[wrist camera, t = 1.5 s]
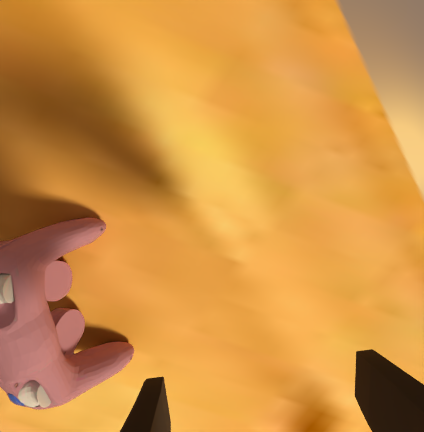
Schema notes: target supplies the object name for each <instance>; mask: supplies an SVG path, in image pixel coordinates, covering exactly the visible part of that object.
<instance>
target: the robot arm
mask: <svg viewBox="0 0 424 432" xmlns="http://www.w3.org/2000/svg"><path fill="white" fill-rule="evenodd" d="M355 397H356V400H357V402H358V404H359V406H360V408H361V411H362V413H363V415H364V417H365V419H366V421H367V423H368V425H369V427H370V428H371V430H372V432H424V385H423V384H422V383H420V382H419V381H417V380H416V379H414V378H413V377H412V376H410V375H409V374H407V373H406V372H404V371H403V370H401V369H400V368H399V367H397V366H396V365H394V364H393V363H391V362H390V361H389V360H387V359H386V358H384V357H383V356H381V355H380V354H378V353H377V352H375V351H374V350H364V351H356V377H355ZM120 432H171V421H170V415H169V408H168V402H167V396H166V389H165V383H164V377H157V378H149V379H146V380H145V381H144V383H143V386H142V388H141V391H140V393H139V395H138V397H137V399H136V402H135V404H134V406H133V408H132V410H131V412H130V414H129V416H128V417H127V419H126V421H125V423H124V425H123V427H122V429H121V430H120Z"/></svg>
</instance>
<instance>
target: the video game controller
mask: <svg viewBox="0 0 424 432" xmlns="http://www.w3.org/2000/svg"><path fill="white" fill-rule="evenodd" d="M105 229H106V224H105V222H103V221H102V220H100V219H96V218H80V219H73V220H68V221H64V222H60V223H57V224H53V225H50V226H47V227H44V228H41V229H38V230H35V231H33V232H30V233H28V234H25V235H23V236H20V237H18V238H15V239H12V240H10V241H0V387H1V388H2V389H3V390H4V391H5V392H6V393H7V395H8V397H9V399H10V400H11V401H12V402H13V403H14V404H16V405H20V406H24V407H30V408H33V409H47V408H52V407H57V406H61V405H63V404H65V403H67V402H69V401H71V400H72V399H74V398H76V397H77V396H79V395H81V394H82V393H84V392H86V391H87V390H89V389H91V388H92V387H94V386H96V385H98V384H99V383H101V382H103V381H105V380H106V379H108V378H110V377H112V376H113V375H115V374H116V373H118V372H119V371H121V370H122V369H123V368H124V367H125V366H126V365H127V364H128V363H129V362H130V360H131V359H132V357H133V353H134V348H133V346H132V345H131V344H129V343H127V342H119V341H117V342H110V343H105V344H101V345H98V346H95V347H92V348H89V349H86V350H83V351H81V352H78V353H76V354H74V350H75V348H76V346H77V344H78V342H79V340H80V339H81V337H82V335H83V332H84V328H85V321H84V317H83V315H82V314H81V312H80V311H78V310H76V309H68V308H57V309H54V310H53V311H52V312H50V309H49V306H48V303H47V301H57V300H60V299H62V298H63V297H64V296H66V295H67V293H68V292H69V290H70V288H71V284H72V271H71V269H70V266H69V265H68V264H67V263H65V262H62V261H58V260H56V259H58V258H60V257H61V256H63V255H65V254H66V253H69V252H71V251H73V250H75V249H78V248H80V247H82V246H85V245H87V244H89V243H91V242H93V241H94V240H96V239H97V238H98V237H99V236H101V234H102V233H103V232H104V231H105Z"/></svg>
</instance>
